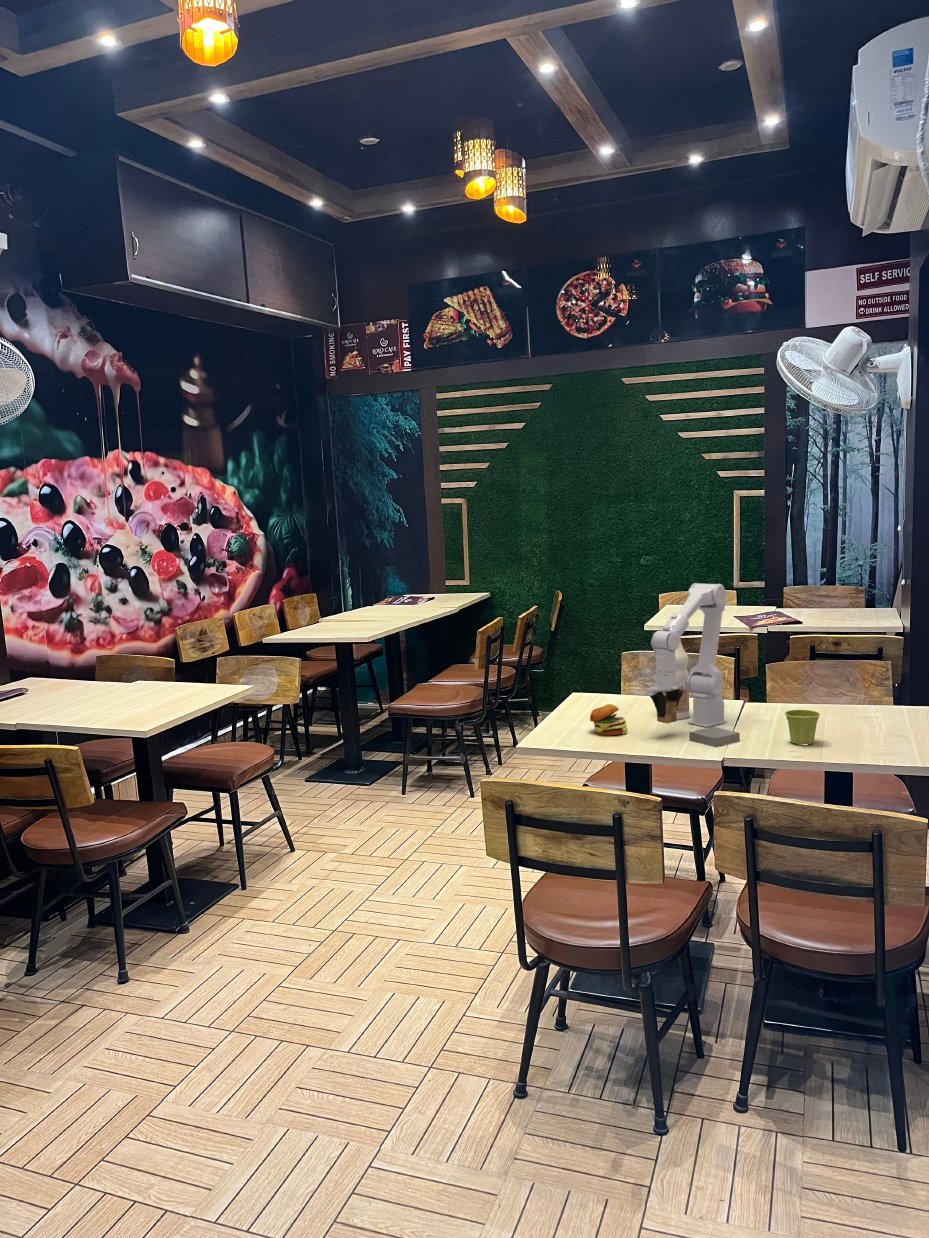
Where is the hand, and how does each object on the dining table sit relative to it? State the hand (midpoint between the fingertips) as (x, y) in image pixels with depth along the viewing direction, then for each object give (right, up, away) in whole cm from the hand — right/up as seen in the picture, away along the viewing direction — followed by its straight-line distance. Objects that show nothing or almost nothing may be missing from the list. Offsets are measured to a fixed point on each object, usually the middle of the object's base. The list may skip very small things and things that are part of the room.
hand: (666, 715), depth 268 cm
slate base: (+12, -7, -7) cm, 16 cm away
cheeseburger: (-16, -6, +8) cm, 19 cm away
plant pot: (+36, -7, -13) cm, 39 cm away
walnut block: (0, -2, 0) cm, 2 cm away
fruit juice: (+8, -3, +25) cm, 26 cm away
